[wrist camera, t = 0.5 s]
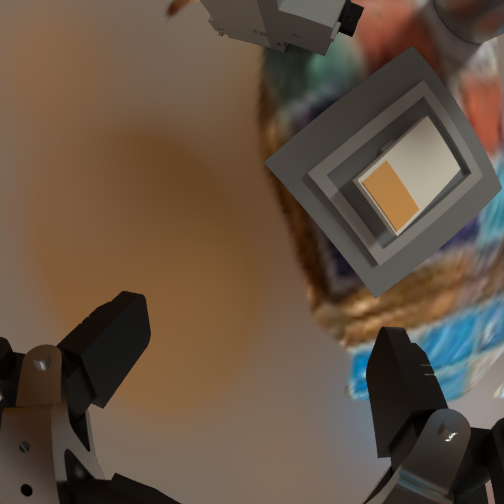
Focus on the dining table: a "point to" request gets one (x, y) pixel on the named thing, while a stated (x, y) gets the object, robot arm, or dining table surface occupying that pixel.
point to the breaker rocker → (408, 175)
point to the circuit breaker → (284, 21)
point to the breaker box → (369, 149)
